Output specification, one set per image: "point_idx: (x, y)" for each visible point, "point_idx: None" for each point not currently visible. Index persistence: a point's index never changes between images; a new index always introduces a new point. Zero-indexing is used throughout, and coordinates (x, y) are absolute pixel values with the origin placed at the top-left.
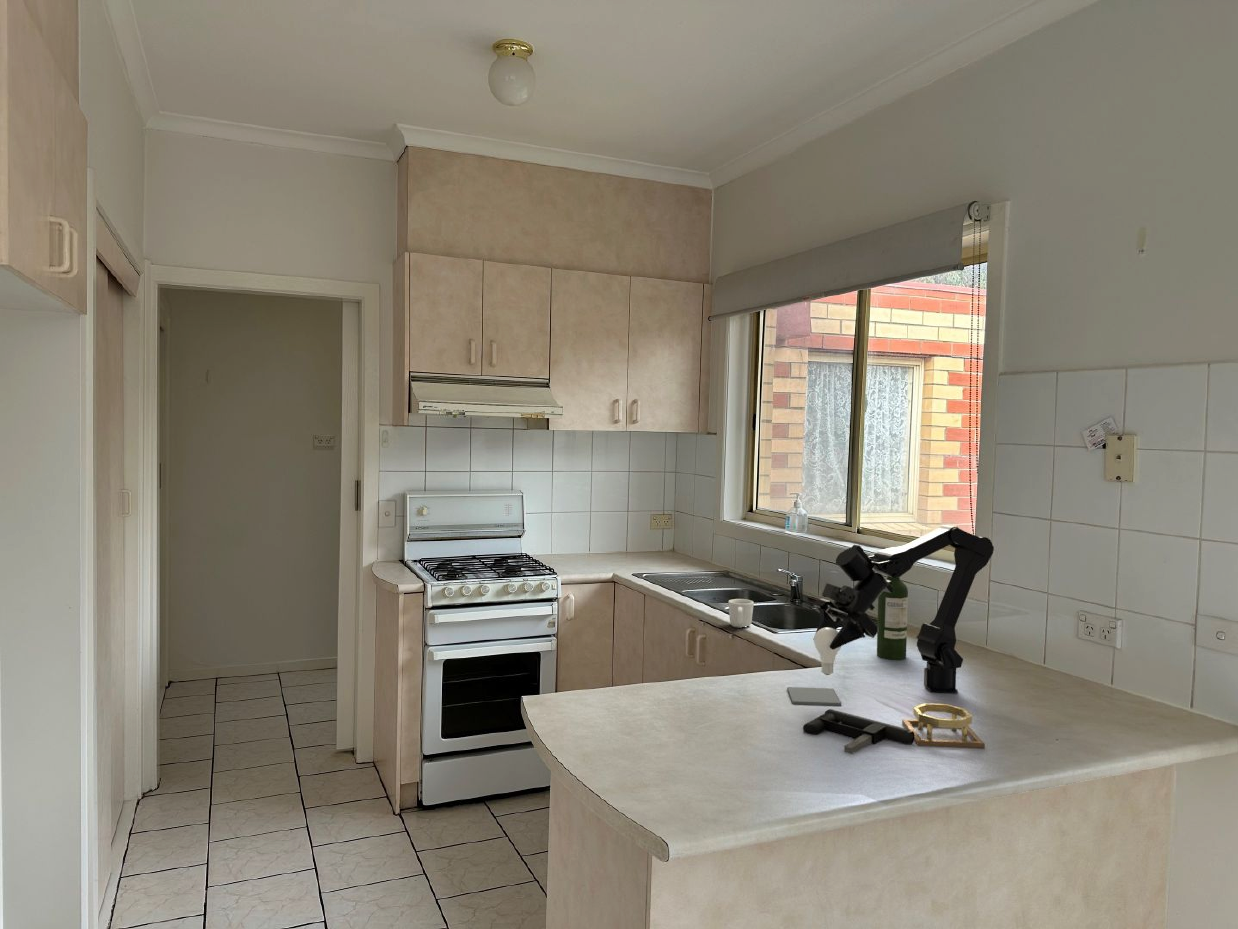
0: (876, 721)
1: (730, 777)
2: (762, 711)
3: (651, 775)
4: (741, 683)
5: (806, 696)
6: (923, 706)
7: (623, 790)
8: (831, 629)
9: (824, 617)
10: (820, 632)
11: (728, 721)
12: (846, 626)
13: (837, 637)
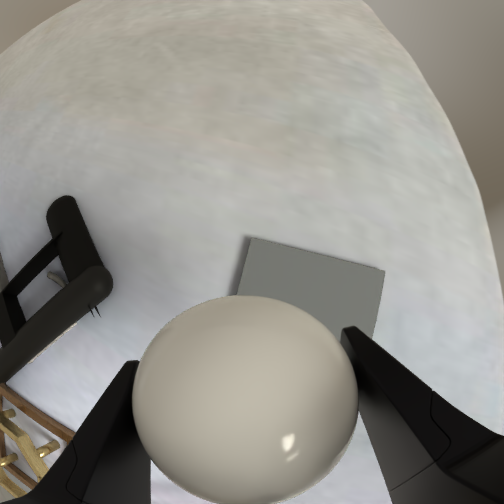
0: (15, 343)
1: (16, 86)
2: (207, 146)
3: (59, 30)
4: (427, 173)
5: (291, 296)
6: (28, 462)
7: (51, 23)
8: (185, 457)
9: (457, 483)
10: (208, 338)
11: (167, 80)
12: (19, 499)
13: (87, 422)
